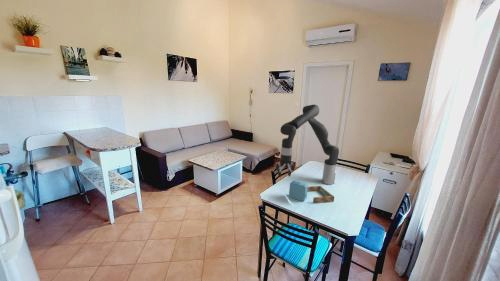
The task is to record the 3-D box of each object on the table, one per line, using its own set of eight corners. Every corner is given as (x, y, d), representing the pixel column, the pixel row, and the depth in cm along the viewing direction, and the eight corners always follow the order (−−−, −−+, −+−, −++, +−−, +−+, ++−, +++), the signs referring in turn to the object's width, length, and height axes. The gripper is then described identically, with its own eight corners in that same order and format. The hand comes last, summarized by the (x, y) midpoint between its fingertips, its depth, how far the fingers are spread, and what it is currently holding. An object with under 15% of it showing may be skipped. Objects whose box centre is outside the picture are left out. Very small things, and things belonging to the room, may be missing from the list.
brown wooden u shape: (319, 190, 162) (320, 185, 162) (333, 201, 145) (334, 196, 145) (301, 191, 159) (302, 186, 158) (313, 203, 142) (314, 198, 141)
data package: (306, 199, 147) (308, 184, 144) (304, 202, 143) (305, 186, 140) (291, 194, 153) (292, 179, 151) (288, 196, 150) (290, 181, 147)
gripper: (293, 151, 144) (291, 173, 147) (274, 152, 141) (272, 174, 144) (298, 154, 137) (295, 177, 140) (278, 155, 133) (276, 178, 137)
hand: (284, 176), depth 142 cm, fingers open, 6 cm apart
